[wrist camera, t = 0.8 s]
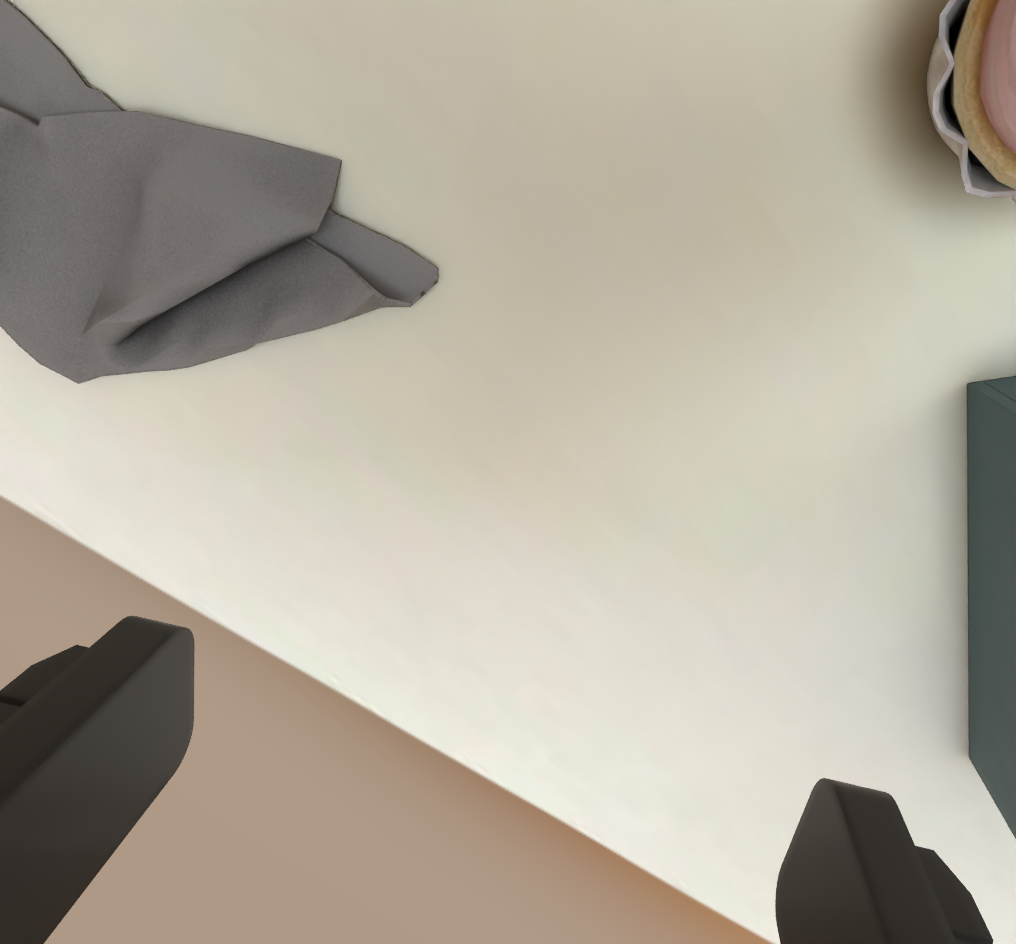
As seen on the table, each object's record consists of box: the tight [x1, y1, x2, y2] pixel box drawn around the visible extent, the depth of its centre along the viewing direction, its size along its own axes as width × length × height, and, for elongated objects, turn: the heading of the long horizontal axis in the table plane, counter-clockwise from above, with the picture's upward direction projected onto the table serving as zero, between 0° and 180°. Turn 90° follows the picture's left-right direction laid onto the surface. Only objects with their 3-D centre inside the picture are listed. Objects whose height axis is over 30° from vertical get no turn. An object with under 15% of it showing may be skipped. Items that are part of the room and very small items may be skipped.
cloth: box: [0, 0, 438, 384], centre depth 29 cm, size 26×14×2 cm, turn 62°
